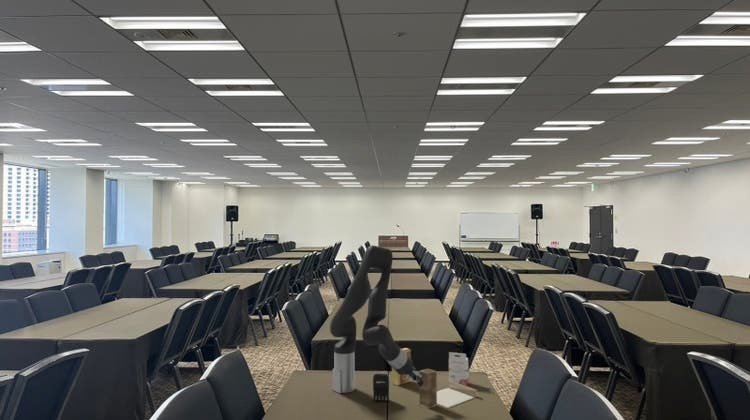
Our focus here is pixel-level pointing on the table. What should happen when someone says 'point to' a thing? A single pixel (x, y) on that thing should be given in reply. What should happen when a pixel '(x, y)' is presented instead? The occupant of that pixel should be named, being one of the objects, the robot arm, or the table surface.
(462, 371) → the ink cartridge box
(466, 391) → the birch lip
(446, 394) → the felt mat
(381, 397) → the battery charger
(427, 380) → the brown block
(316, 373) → the table surface
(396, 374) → the candy box
